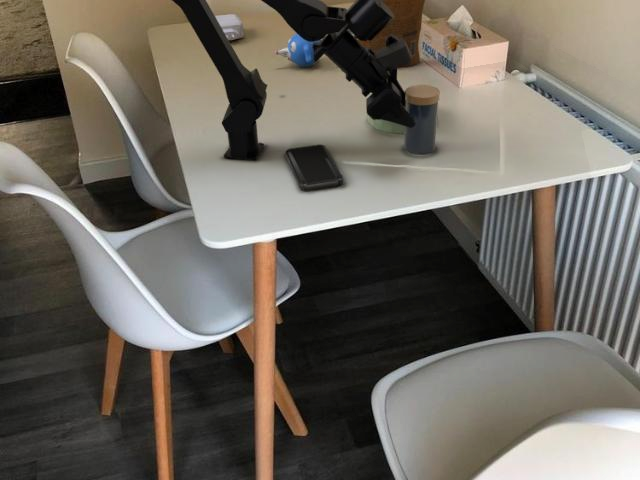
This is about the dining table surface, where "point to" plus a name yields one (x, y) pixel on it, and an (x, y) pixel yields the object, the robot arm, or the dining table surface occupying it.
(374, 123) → the bowl
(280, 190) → the dining table surface
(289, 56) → the blue mole toy
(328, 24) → the robot arm
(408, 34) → the pancake mix bag
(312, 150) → the phone
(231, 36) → the charger
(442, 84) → the dining table surface
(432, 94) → the canister
